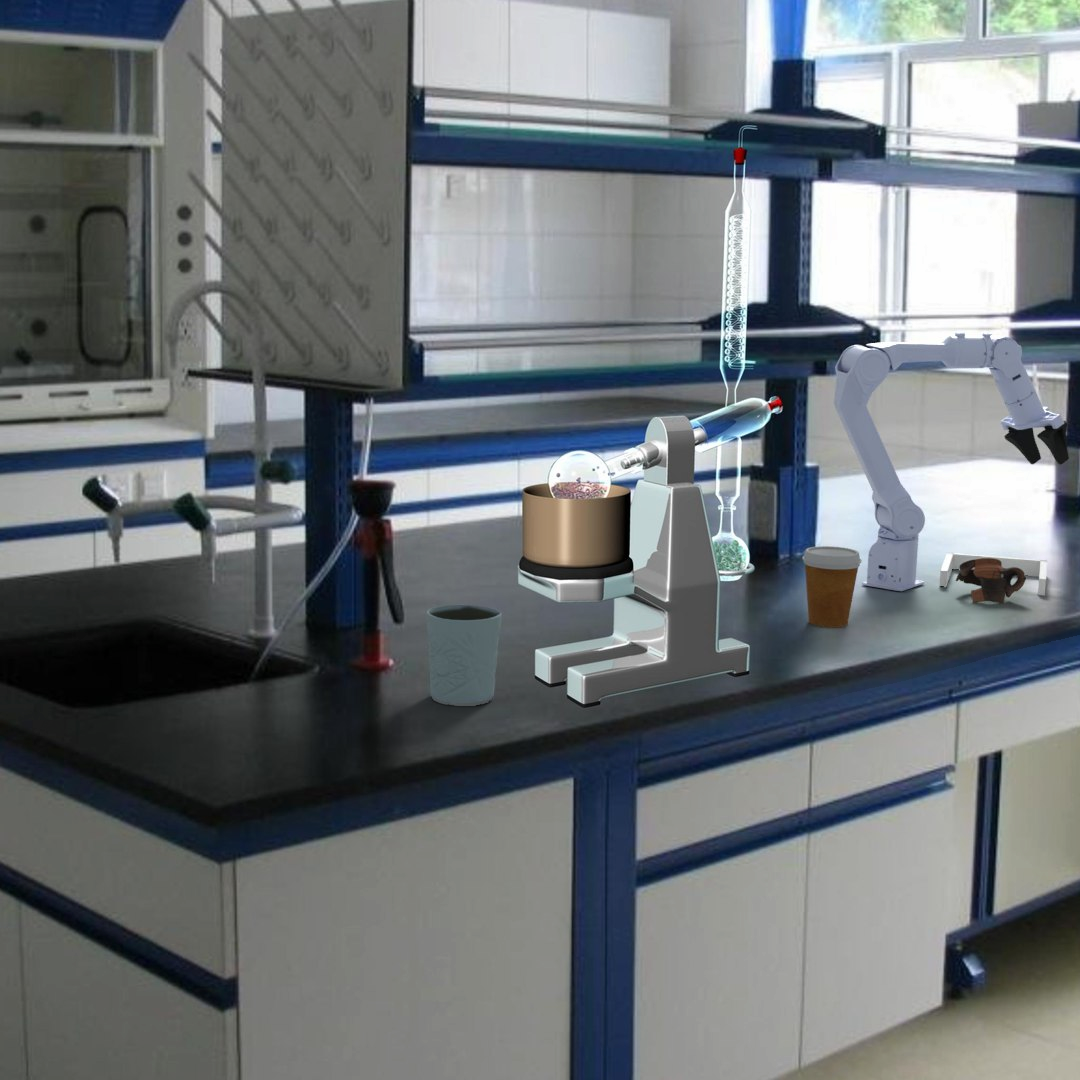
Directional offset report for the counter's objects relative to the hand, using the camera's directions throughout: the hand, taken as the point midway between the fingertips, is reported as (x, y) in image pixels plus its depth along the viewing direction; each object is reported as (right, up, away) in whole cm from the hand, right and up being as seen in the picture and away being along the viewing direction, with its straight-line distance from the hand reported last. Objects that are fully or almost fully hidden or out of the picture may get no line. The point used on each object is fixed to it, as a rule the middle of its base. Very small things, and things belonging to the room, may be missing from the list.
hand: (1049, 461), depth 323 cm
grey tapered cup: (-103, -36, -81) cm, 136 cm away
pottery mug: (-13, -25, -9) cm, 30 cm away
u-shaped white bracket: (-9, -22, +5) cm, 24 cm away
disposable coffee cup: (-45, -28, -32) cm, 62 cm away
